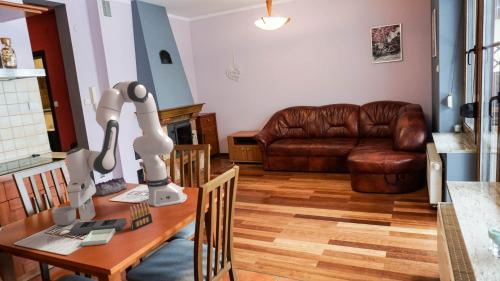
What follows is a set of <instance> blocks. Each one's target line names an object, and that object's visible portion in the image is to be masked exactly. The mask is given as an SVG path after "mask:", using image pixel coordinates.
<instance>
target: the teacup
mask: <svg viewBox="0 0 500 281" xmlns="http://www.w3.org/2000/svg"><path fill="white" fill-rule="evenodd" d="M51 214H52V219H53V222H54V223H55V224H56V225H58V226H59V227H61V226H62V227H63V226H68V225H72V224H73V223H74V221H76V219H77V208H72V207H71V205H66V206H60V207H57V208H55V209H53V210H52V211H51Z"/></svg>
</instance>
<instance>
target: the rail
mask: <svg viewBox="0 0 500 281" xmlns="http://www.w3.org/2000/svg"><path fill="white" fill-rule="evenodd" d="M127 224H128V222H127V217H122V218H109V219H99V220H98V219H97V220H85V221H77V222H75V224H74V225H73V226H72V227H71V228H69V232H70V236H77V235H76V234H80V235H88V234H87V233H90V232H91V231H94V230H105V229H115V232H119V231H120V232H121V231H123V229H124V228H125V227H126V225H127Z"/></svg>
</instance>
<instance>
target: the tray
mask: <svg viewBox="0 0 500 281" xmlns="http://www.w3.org/2000/svg"><path fill="white" fill-rule="evenodd" d="M115 234H116V231H115V229H105V230H94V231H91V232H90V233H89V234H86V236H85V237H84V238H83V239H82V241H81V243H80V244H81V247H86V246H98V245H108V243H109V242H110V241H111V239H112V238H113V236H115Z"/></svg>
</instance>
